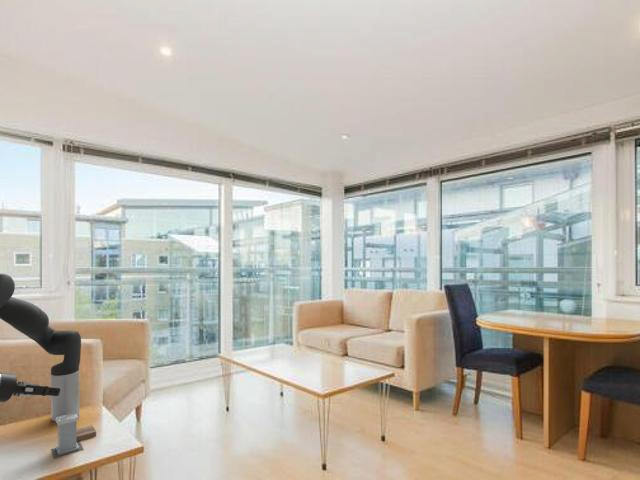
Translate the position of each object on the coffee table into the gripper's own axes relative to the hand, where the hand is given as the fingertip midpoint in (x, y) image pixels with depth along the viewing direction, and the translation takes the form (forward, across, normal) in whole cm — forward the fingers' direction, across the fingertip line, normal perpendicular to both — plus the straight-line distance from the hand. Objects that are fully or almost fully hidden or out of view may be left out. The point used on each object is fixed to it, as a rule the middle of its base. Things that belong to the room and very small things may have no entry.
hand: (51, 391), depth 124 cm
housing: (+12, +3, +16) cm, 20 cm away
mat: (+12, +3, +17) cm, 21 cm away
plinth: (+19, +8, +14) cm, 25 cm away
